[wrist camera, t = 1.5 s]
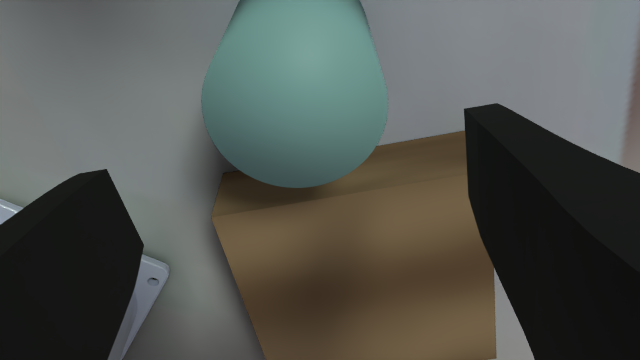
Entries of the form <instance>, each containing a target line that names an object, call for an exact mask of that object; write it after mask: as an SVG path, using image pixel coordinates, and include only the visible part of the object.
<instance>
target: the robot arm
mask: <svg viewBox="0 0 640 360" xmlns="http://www.w3.org/2000/svg"><path fill="white" fill-rule="evenodd" d="M464 117H465V138H466V159H467V180H468V197H469V200H470V204H471V207H472V211H473V214H474V217H475V221H476V224H477V227H478V230H479V234H480V237H481V239H482V242H483V244H484V246H485V248H486V251H487V253H488V255H489V257H490V259H491V262H492V264H493V266H494V268H495V270H496V273H497V275H498V277H499V279H500V281H501V283H502V286H503V288H504V290H505V292H506V294H507V296H508V299H509V301H510V303H511V305H512V307H513V309H514V312H515V314H516V316H517V318H518V320H519V322H520V325H521V327H522V329H523V331H524V333H525V336H526V338H527V341H528V343H529V346H530V348H531V351H532V353H533V356H534V359H535V360H640V173H638V172H636V171H633V170H631V169H628V168H625V167H623V166H621V165H618V164H616V163H614V162H612V161H609V160H607V159H605V158H603V157H600V156H598V155H596V154H594V153H591V152H589V151H587V150H585V149H583V148H581V147H579V146H577V145H575V144H573V143H571V142H569V141H567V140H565V139H563V138H561V137H559V136H557V135H555V134H554V133H552V132H550V131H548V130H546V129H544V128H542V127H541V126H539V125H537V124H535V123H533V122H532V121H530V120H528V119H526V118H524V117H523V116H521V115H519V114H517V113H515V112H514V111H512V110H510V109H508V108H506V107H504V106H502V105H500V104H498V103H496V104H490V105H484V106H478V107H472V108H466V109H464ZM143 247H144V244H143V242H142V240H141V238H140V236H139V234H138V232H137V230H136V228H135V226H134V224H133V222H132V220H131V218H130V216H129V214H128V212H127V210H126V208H125V206H124V204H123V201H122V199H121V197H120V195H119V193H118V191H117V189H116V187H115V185H114V183H113V181H112V179H111V177H110V175H109V173H108V171H107V169H104V170H98V171H92V172H86V173H80V174H77V175H75V176H73V177H71V178H69V179H68V180H66V181H64V182H62V183H61V184H59V185H57V186H56V187H54V188H53V189H51V190H50V191H48V192H47V193H45V194H44V195H42V196H41V197H39V198H38V199H36V200H35V201H33V202H32V203H30V204H29V205H28V206H26V207H25V208H23V207H20V206H18V205H15V204H12V203H10V202H7V201H5V200H2V199H0V360H122V359H123V357H124V355H125V354H126V352H127V350H128V348H129V346H130V345H131V343H132V341H133V339H134V338H135V336H136V334H137V332H138V330H139V329H140V327H141V325H142V323H143V322H144V320H145V318H146V316H147V314H148V313H149V311H150V309H151V307H152V305H153V304H154V302H155V300H156V298H157V297H158V295H159V293H160V291H161V289H162V288H163V286H164V284H165V282H166V281H167V279H168V276H169V273H170V268H169V266H168V265H167V264H165V263H163V262H161V261H159V260H156V259H153V258H151V257H148V256H146V255H143V254H142V252H143ZM152 278H156V279H158V280H153V279H152Z"/></svg>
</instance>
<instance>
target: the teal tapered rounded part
mask: <svg viewBox="0 0 640 360" xmlns="http://www.w3.org/2000/svg"><path fill="white" fill-rule="evenodd" d="M201 101H202V113H203V118H204V122H205V125H206V128H207V131H208V133H209V135H210V137H211V139H212V141H213V143H214V144H215V146H216V147H217V149H218V150H219V152H220V153H221V154H222V155H223V156H224V157H225V158H226V159H227V160H228V161H229V162H230V163H231V164H232V165H233V166H235V167H236V168H237V169H239V170H240V171H242V172H243V173H244V174H246V175H248V176H250V177H252V178H254V179H256V180H259V181H261V182H264V183H267V184H271V185H275V186H280V187H287V188H306V187H314V186H319V185H323V184H326V183H330V182H332V181H335V180H337V179H339V178H341V177H343V176H345V175H347V174H349V173H350V172H352V171H353V170H354V169H356V168H357V167H358V166H359V165H361V164H362V163H363V162H364V161H365V160H366V159H367V158H368V156H369V155H370V154H371V153H372V152H373V150H374V149H375V147H376V145H377V144H378V142H379V140H380V138H381V136H382V134H383V131H384V128H385V125H386V121H387V115H388V94H387V87H386V84H385V80H384V77H383V74H382V70H381V67H380V63H379V60H378V56H377V53H376V49H375V46H374V42H373V39H372V35H371V32H370V28H369V25H368V22H367V18H366V15H365V11H364V9H363V7H362V4H361V2H360V0H240V1H239V3H238V5H237V7H236V9H235V12H234V14H233V16H232V18H231V20H230V22H229V25H228V27H227V29H226V31H225V33H224V36H223V38H222V40H221V42H220V44H219V47H218V49H217V51H216V53H215V55H214V57H213V60H212V62H211V64H210V66H209V69H208V71H207V74H206V76H205V80H204V84H203V88H202V100H201Z"/></svg>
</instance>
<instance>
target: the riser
mask: <svg viewBox="0 0 640 360" xmlns="http://www.w3.org/2000/svg"><path fill="white" fill-rule="evenodd" d="M211 219H212V221H213V224H214V227H215V229H216V232H217V234H218V237H219V239H220V242H221V245H222V247H223V250H224V252H225V255H226V258H227V260H228V263H229V265H230V268H231V271H232V273H233V276H234V278H235V281H236V283H237V286H238V289H239V291H240V294H241V296H242V299H243V302H244V304H245V307H246V309H247V312H248V314H249V317H250V320H251V322H252V325H253V327H254V330H255V333H256V335H257V338H258V340H259V343H260V345H261V348H262V351H263V353H264V356H265V358H266V360H488V359H495V358H496V326H495V291H494V266H493V264H492V262H491V259H490V257H489V255H488V253H487V251H486V248H485V246H484V244H483V242H482V239H481V237H480V234H479V230H478V227H477V224H476V221H475V217H474V214H473V211H472V207H471V204H470V200H469V197H468V180H467V159H466V138H465V131H460V132H455V133H449V134H443V135H438V136H432V137H426V138H421V139H415V140H409V141H404V142H398V143H392V144H387V145H381V146H376V147H375V149H374V150H373V152H372V153H371V154H370V155H369V156H368V158H367V159H366V160H365V161H364V162H363V163H362V164H361V165H359V166H358V167H357V168H356V169H354V170H353V171H352V172H350V173H349V174H347V175H345V176H343V177H341V178H339V179H337V180H335V181H332V182H330V183H326V184H323V185H319V186H314V187H306V188H287V187H280V186H275V185H271V184H267V183H264V182H261V181H259V180H256V179H254V178H252V177H250V176H248V175H246V174H244V173H243V172H242V171H234V172H228V173H223V175H222V179H221V182H220V186H219V190H218V194H217V197H216V201H215V205H214V208H213V212H212V216H211Z"/></svg>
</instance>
